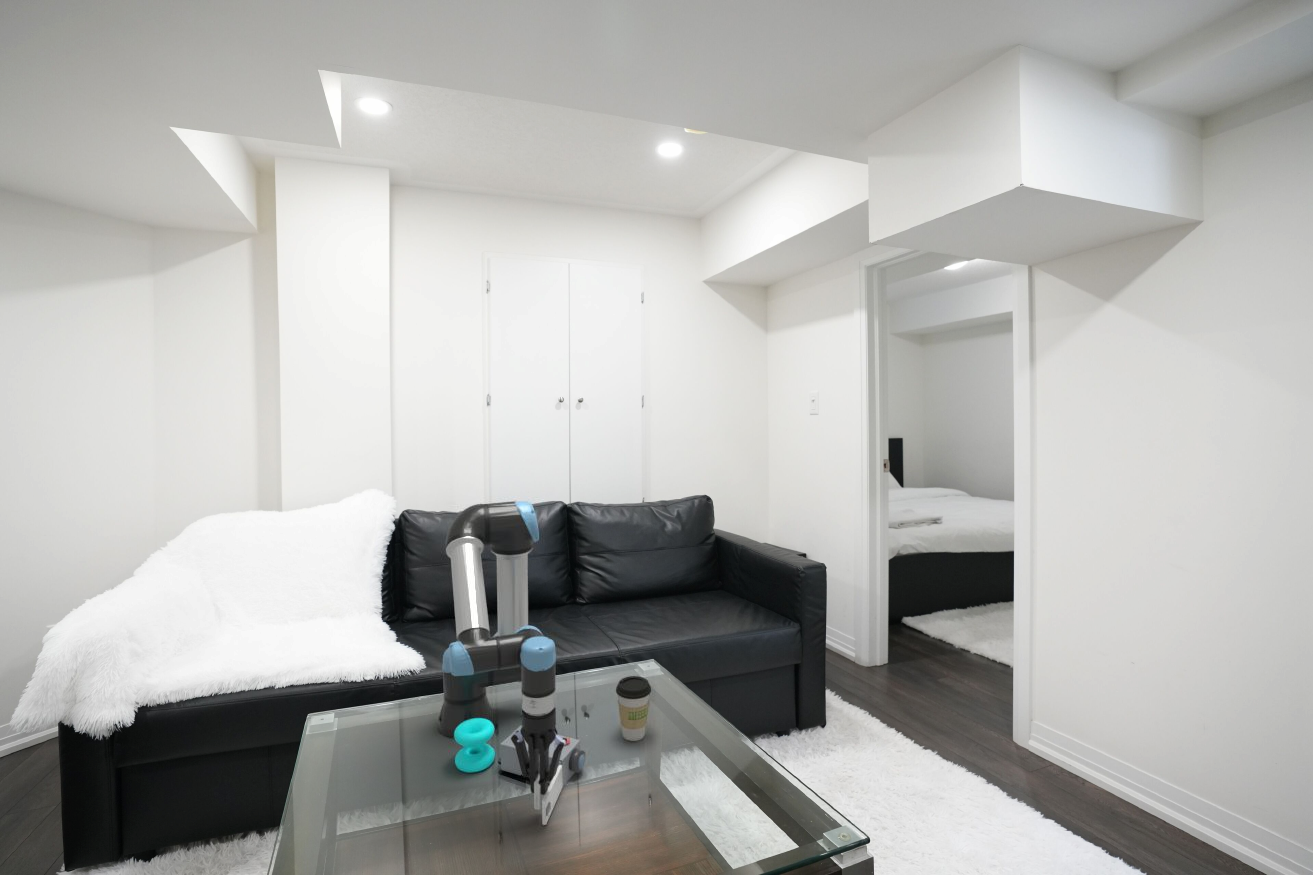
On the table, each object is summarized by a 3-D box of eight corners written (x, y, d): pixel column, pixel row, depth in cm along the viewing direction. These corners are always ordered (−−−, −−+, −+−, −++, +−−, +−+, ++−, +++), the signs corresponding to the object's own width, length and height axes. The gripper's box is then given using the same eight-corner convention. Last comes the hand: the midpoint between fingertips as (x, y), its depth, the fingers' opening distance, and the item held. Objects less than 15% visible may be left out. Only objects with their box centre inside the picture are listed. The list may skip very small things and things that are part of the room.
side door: (547, 826, 141) (546, 799, 141) (540, 825, 141) (539, 799, 141) (564, 785, 155) (564, 761, 154) (558, 785, 155) (557, 760, 154)
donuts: (451, 739, 158) (456, 717, 168) (452, 776, 159) (457, 753, 169) (492, 735, 160) (495, 714, 169) (493, 772, 161) (496, 749, 170)
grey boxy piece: (500, 770, 162) (499, 741, 161) (521, 749, 170) (520, 722, 169) (571, 789, 154) (570, 759, 153) (588, 767, 163) (588, 739, 162)
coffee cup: (647, 746, 172) (647, 694, 170) (612, 742, 174) (611, 690, 172) (654, 726, 181) (654, 676, 180) (621, 722, 183) (620, 673, 182)
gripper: (504, 712, 140) (506, 811, 143) (559, 720, 137) (559, 821, 140) (519, 695, 147) (520, 790, 150) (571, 703, 144) (571, 799, 147)
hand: (539, 805), depth 145 cm, fingers closed
